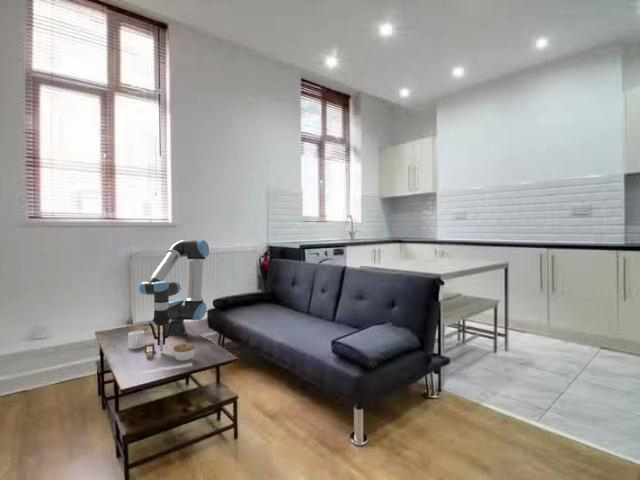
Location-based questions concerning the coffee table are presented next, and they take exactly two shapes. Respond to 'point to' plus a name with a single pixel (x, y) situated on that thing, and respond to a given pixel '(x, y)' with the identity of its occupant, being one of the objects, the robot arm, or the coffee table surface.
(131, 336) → the mug
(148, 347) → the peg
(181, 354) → the lidded jar
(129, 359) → the coffee table surface
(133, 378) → the coffee table surface
